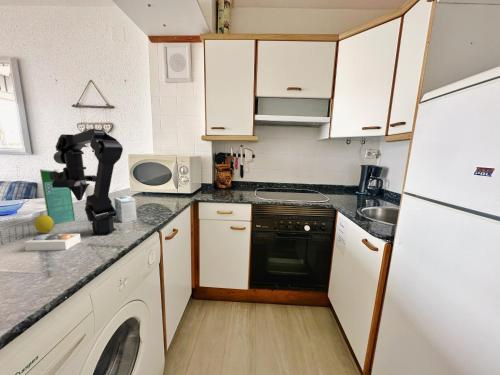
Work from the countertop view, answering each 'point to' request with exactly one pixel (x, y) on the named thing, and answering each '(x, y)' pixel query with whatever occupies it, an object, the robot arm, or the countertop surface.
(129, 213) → the light bulb box
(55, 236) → the charcoal button
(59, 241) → the frame
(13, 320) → the countertop surface
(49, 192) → the milk carton
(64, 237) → the terracotta button
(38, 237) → the slate button
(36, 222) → the lemon
